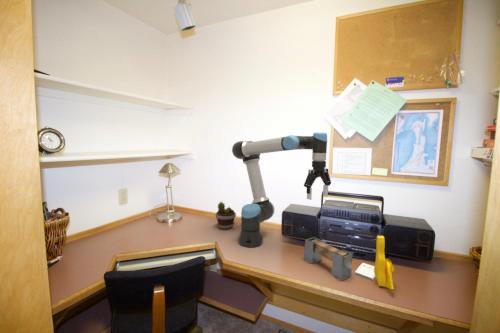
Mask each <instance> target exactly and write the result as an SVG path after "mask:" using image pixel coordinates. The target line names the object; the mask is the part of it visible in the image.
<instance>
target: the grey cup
mask: <svg viewBox="0 0 500 333" xmlns="http://www.w3.org/2000/svg"><path fill="white" fill-rule="evenodd" d="M341 251H343V252H345V253H347V255H346V256H344V257H342V256H340V255H338V254H336V253H333V261H332V265H331V269H332V270H331V276H333V277H335V278H337V280H340V281H345V280H347V279H348V278H350V277H352V271H353V269H352V268H353V254H354V253H351V252H349V251H347V250H344V249H341Z"/></svg>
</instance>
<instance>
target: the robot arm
mask: <svg viewBox="0 0 500 333" xmlns="http://www.w3.org/2000/svg"><path fill="white" fill-rule="evenodd" d="M327 147H328V134H327V133H326V132H313V135H310V136H309V135H307V136H306V135H293V134H292V135H291V134H290V135H286V136H283V137H282V136H281V137H276V138H275V137H274V138H270V139H263V140H257V141H253V140H252V141H251V140H250V141H245V140H244V141H243V140H240V141H237V142H235V143H234V144H233V146H232V148H231V152H232V155H233V156H234V158H236V159H239V160H242V163H243V164H244V165H245V167H246V170H247V175H248V181H249V184H250V189H251V194H252V198H253V201H251V203H247V204H244V205H243V206H242V207H241V214H240V215H241V218H240V219H241V220H240V222H241V225H240V226H241V228H240V229H241V230H240V233H239V235H238V240H237V241H238V244H239V245H240V246H242V247H244V248H257V247H259V246H262V244H263V240H264V239H263V236H262V234H261V223H263V222H266V221H268V220H270V219H271V218H272V217H273V216H274V215H275V206H274V203H272V202H271V201H270V198H269V197H267V193H266V190H265V186H264V181H263V178H262V176H263V175H262V173H261V168H260V164H259V161H260V159H261V158H260V155H261V154H269V153H277V152H285V151H295V150H297V151H298V150H312V153H311V159H312V161H311V168H312V169H308V174H307V176H306V178H305V180H304V184H303V187H305V188H306V199H307V200H308V201H309V200H310V201H311V200H312V197H313V196H312V195H313V194H312V193H313V192H312V191H313V189H312V186H313V184H314V183H315V181H316V179H318V178H321V181H322V182H323V186H322V188H323V189H322V196H323V197H325V198H327V197H328V193H329V186H331V184H332V181H331V178H330V174H329V168H327V150H328V149H327Z"/></svg>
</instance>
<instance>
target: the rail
mask: <svg viewBox="0 0 500 333" xmlns="http://www.w3.org/2000/svg"><path fill="white" fill-rule="evenodd" d="M311 242H312V243H314V252H315V253H317V254H319V255H321V257H323V258H325V259H327V260H329V261H332V262H333V253H336V254H338V255H340V256H342V257H344V256H346V255H347V253H345V252H343V251H341V250H342V249H341V250H340V249H338V248H336V247H334V246H331V245H330V244H327V243H324V241H322V242H321V241H318V240H316V239H315V240H312V241H311Z"/></svg>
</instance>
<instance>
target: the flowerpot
mask: <svg viewBox="0 0 500 333" xmlns="http://www.w3.org/2000/svg"><path fill="white" fill-rule="evenodd" d="M225 204H226V203H225V202H223V201H222V200H220V201H219V203H218V204H217V211H216V213H215V218H216V220H217V226H218V228H219V229H221V230H230V229H232V228H233V227H234V225H235V218H236V216H237V213H236V212H235V211H234V209H232V208H231V207H230V206H228V207H226V205H225Z"/></svg>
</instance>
